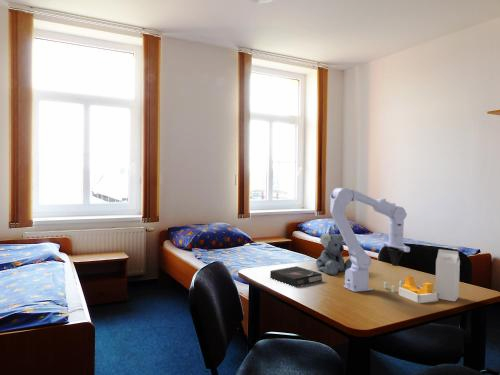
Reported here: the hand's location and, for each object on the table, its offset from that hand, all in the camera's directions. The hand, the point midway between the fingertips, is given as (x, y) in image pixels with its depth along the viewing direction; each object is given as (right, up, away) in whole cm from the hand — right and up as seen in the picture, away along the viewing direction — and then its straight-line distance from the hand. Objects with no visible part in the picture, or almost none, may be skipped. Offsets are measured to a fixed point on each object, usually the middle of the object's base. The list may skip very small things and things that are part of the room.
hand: (395, 265), depth 163 cm
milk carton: (+16, -11, -12) cm, 23 cm away
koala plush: (-20, -9, +30) cm, 38 cm away
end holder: (+4, -10, -12) cm, 16 cm away
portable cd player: (-41, -10, +11) cm, 44 cm away
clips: (+1, -10, -3) cm, 11 cm away
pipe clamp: (+5, -11, -10) cm, 15 cm away
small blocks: (0, -10, +1) cm, 10 cm away
